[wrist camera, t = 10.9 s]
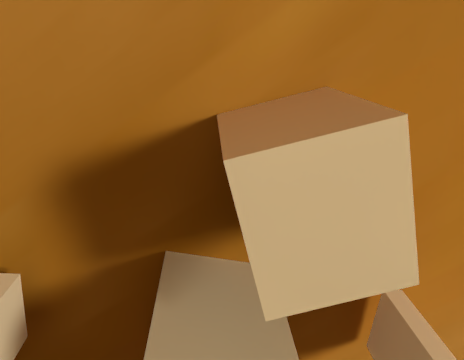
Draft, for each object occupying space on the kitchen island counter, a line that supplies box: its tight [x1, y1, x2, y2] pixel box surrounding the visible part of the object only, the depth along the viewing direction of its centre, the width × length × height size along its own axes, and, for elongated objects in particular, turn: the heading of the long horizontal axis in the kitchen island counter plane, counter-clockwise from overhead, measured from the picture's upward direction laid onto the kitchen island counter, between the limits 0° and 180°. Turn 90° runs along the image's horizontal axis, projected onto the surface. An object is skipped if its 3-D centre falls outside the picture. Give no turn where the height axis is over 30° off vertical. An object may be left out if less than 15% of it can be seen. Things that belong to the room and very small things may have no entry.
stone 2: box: [217, 87, 419, 321], centre depth 10 cm, size 4×4×5 cm
